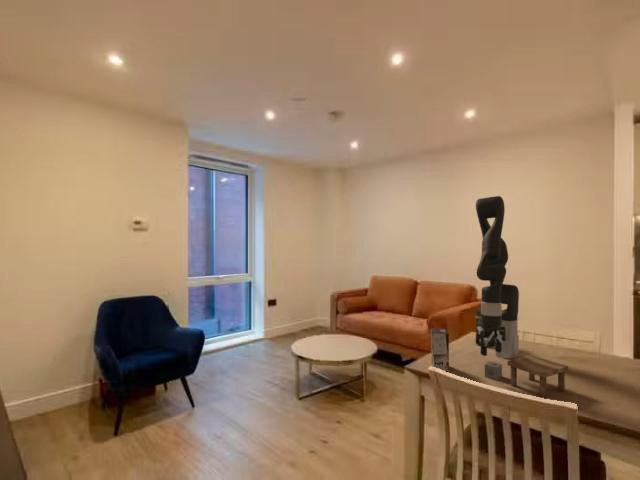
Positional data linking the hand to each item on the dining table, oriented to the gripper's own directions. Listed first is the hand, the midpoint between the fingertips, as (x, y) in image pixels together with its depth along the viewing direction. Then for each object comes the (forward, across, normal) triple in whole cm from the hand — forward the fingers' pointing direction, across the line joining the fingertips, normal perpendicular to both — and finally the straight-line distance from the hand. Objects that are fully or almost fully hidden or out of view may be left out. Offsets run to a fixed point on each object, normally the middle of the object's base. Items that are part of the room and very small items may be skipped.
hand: (491, 353), depth 146 cm
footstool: (+9, -6, +15) cm, 19 cm away
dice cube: (+10, -1, 0) cm, 10 cm away
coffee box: (+10, +11, -17) cm, 22 cm away
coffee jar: (+9, -33, -29) cm, 45 cm away
